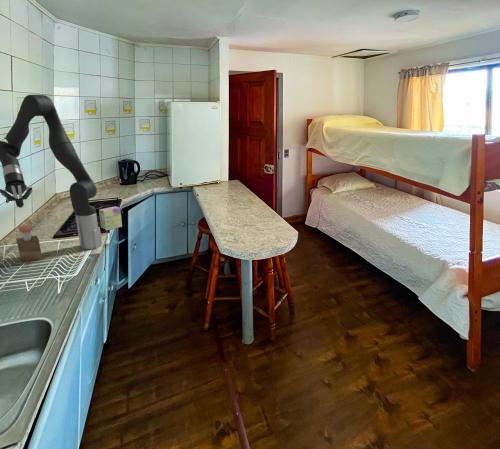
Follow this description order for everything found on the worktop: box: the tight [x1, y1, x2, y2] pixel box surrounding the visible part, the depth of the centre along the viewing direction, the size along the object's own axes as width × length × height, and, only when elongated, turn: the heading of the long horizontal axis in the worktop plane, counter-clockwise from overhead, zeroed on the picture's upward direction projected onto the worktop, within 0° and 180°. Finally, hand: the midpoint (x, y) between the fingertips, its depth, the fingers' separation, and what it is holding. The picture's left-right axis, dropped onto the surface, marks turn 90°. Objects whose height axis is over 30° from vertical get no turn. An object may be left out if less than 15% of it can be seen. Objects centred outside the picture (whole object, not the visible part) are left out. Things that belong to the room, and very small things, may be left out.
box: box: [98, 206, 123, 231], centre depth 197 cm, size 10×6×12 cm, turn 141°
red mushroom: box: [18, 224, 33, 241], centre depth 153 cm, size 5×5×10 cm
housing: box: [16, 235, 43, 263], centre depth 154 cm, size 8×8×9 cm
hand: (20, 206), depth 155 cm, fingers closed
